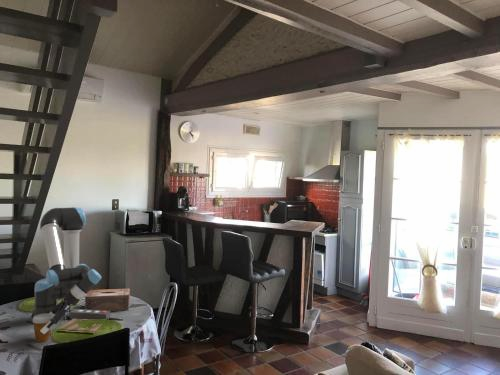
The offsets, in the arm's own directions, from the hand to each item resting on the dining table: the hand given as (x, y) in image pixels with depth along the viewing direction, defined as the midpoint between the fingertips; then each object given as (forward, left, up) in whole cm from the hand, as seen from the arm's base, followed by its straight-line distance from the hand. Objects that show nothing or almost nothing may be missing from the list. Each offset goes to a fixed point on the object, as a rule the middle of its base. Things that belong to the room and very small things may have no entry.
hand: (42, 327), depth 203 cm
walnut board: (+12, +20, -6) cm, 24 cm away
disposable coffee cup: (0, +1, -7) cm, 7 cm away
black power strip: (+13, +34, -6) cm, 37 cm away
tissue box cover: (+11, +54, -7) cm, 55 cm away
